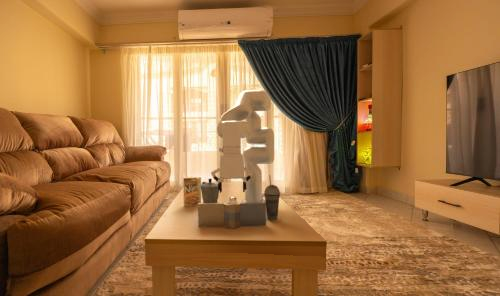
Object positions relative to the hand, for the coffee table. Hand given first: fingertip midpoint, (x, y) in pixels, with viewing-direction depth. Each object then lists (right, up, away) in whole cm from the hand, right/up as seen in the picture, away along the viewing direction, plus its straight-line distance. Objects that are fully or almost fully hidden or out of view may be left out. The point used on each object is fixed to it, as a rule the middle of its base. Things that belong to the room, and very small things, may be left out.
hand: (232, 191), depth 112 cm
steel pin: (0, -14, 0) cm, 14 cm away
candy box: (-24, -14, +36) cm, 45 cm away
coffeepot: (-12, -14, +14) cm, 23 cm away
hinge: (0, -14, 0) cm, 14 cm away
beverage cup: (+17, -14, +9) cm, 24 cm away
